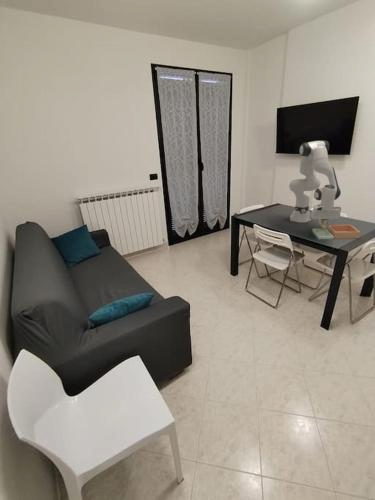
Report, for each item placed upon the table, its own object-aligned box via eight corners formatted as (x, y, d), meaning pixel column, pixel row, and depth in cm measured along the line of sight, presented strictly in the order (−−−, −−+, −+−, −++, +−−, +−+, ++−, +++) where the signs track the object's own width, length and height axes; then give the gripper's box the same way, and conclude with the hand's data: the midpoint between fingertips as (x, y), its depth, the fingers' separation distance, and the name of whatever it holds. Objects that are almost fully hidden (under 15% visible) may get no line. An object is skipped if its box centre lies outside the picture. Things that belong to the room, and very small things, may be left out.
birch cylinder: (319, 228, 195) (321, 218, 191) (325, 228, 194) (326, 218, 191) (321, 229, 191) (323, 220, 188) (327, 229, 190) (328, 220, 187)
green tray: (312, 232, 204) (312, 228, 203) (325, 231, 202) (325, 228, 201) (318, 240, 188) (319, 236, 187) (333, 240, 186) (333, 236, 185)
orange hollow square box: (326, 231, 202) (327, 225, 199) (349, 231, 198) (350, 224, 196) (334, 239, 187) (335, 232, 184) (358, 239, 183) (360, 232, 181)
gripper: (340, 205, 186) (337, 222, 192) (311, 206, 190) (309, 223, 196) (343, 207, 181) (340, 225, 186) (313, 208, 184) (311, 225, 190)
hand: (324, 224), depth 191 cm, fingers closed on birch cylinder, 4 cm apart
